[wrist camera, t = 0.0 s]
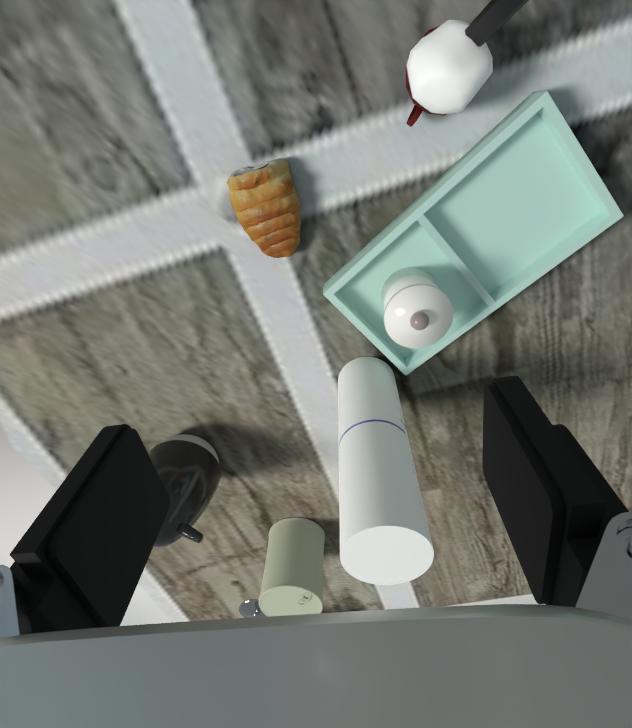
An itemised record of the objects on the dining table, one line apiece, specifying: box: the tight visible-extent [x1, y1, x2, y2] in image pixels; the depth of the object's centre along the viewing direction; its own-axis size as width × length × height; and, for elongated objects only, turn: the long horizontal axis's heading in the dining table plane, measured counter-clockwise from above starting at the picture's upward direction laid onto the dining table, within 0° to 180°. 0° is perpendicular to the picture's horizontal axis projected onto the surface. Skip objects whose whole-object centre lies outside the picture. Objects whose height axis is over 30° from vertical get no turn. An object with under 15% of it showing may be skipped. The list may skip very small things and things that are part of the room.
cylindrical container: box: [338, 357, 434, 585], centre depth 44 cm, size 7×7×25 cm
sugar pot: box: [381, 267, 453, 348], centre depth 44 cm, size 7×7×8 cm
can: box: [259, 517, 325, 617], centre depth 65 cm, size 9×9×12 cm
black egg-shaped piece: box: [148, 434, 221, 547], centre depth 55 cm, size 10×10×15 cm
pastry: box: [227, 158, 301, 258], centre depth 43 cm, size 9×7×4 cm
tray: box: [323, 91, 624, 376], centre depth 44 cm, size 14×26×3 cm, turn 134°
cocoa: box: [406, 0, 528, 126], centre depth 33 cm, size 10×6×12 cm, turn 125°
